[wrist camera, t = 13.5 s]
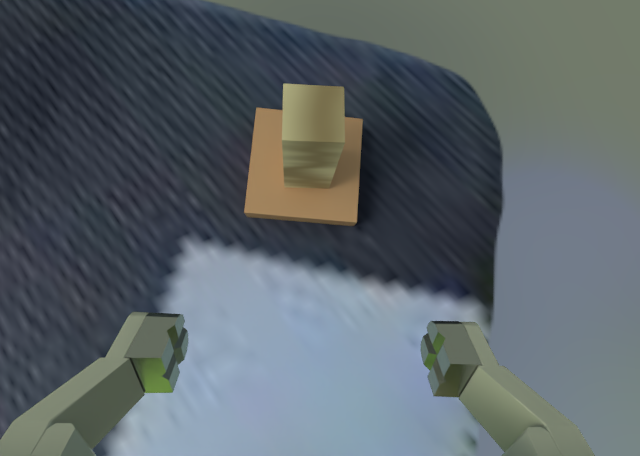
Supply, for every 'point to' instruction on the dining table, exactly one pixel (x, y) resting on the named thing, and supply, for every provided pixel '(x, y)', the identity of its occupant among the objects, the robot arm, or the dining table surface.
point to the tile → (301, 203)
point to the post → (312, 134)
